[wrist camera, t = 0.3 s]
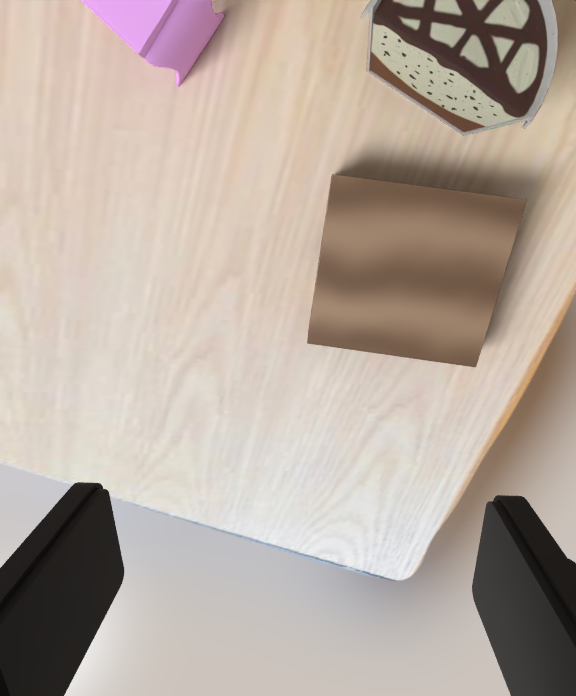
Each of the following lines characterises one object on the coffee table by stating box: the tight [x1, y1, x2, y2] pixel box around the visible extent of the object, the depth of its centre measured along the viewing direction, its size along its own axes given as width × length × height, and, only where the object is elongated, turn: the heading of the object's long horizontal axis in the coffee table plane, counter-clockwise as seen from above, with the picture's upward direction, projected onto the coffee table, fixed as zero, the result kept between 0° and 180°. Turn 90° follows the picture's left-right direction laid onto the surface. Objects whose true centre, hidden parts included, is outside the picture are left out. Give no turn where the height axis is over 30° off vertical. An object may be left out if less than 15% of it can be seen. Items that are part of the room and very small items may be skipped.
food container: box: [360, 0, 558, 136], centre depth 27 cm, size 12×6×10 cm, turn 60°
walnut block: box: [307, 174, 527, 367], centre depth 36 cm, size 14×15×4 cm
